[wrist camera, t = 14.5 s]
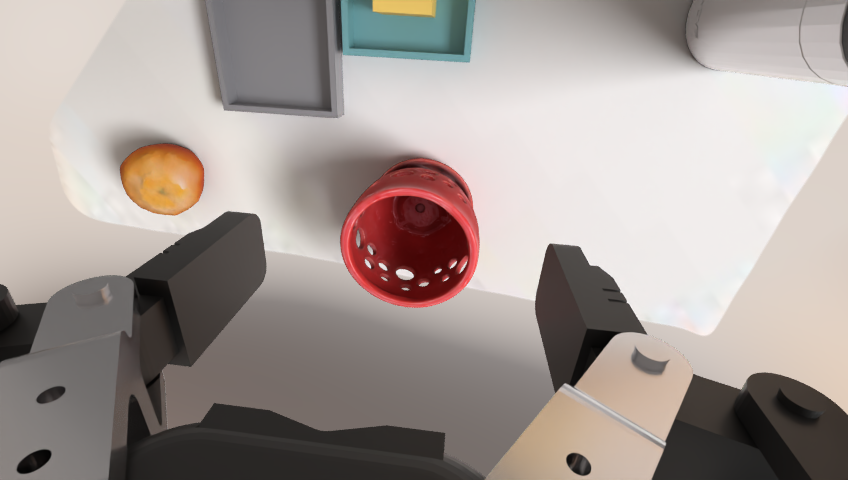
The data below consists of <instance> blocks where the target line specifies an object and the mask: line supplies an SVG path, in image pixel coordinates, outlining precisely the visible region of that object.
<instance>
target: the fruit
mask: <svg viewBox="0 0 848 480" xmlns="http://www.w3.org/2000/svg"><path fill="white" fill-rule="evenodd" d="M120 175H121V180H122V184H123V187H124V189H125V191H126V193H127V195H128V196H129V197H130V199H131V200H132V201H133V202H135V203H136V204H137V205H138V206H140V207H141V208H143V209H146V210H148V211H150V212H152V213H157V214H163V215H178V214H180V213H182V212H183V211H186V210H188V209H189V208H191V207H192V206H193V205H194V204H195V203H197V202H198V201H199V198H200V196H201V194H202V191H203V186H204V168H203V165H202V163H201V162H200V160H199V159H198V158H197V156H196V155H195V154H194V153H193V152H192V151H190V150H189V149H186V148H184V147H181V146H178V145H174V144H166V143H164V144H154V145H148V146H144V147H141V148H139V149H137V150H136V151H134V152H132V153H131V154H130V155H129V156H128V157H127V158H126V159H125V160H124V161H123V163H122V164H121V167H120Z"/></svg>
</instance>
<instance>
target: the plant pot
mask: <svg viewBox="0 0 848 480" xmlns="http://www.w3.org/2000/svg"><path fill="white" fill-rule="evenodd" d="M357 230H359V233H360V239H361V240H360V246H359V248H358V246H357V244H356V236H357ZM368 245H370V246H371V248H372V250H373V255H371V254H370V253H369V251H368V248H367V246H368ZM340 246H341V253H342V257H343V260H344V263H345V265H346V267H347V269H348V271H349V272H350V274H351V275H352V277H353V278H354V279H355V280H356V281H357V283H358V284H359V285H360V286H362V287H363V288H364V289H365V290H367V291H368V292H369V293H370V294H372V295H373V296H375V297H377V298H379V299H381V300H383V301H385V302H388V303H391V304H394V305H398V306H404V307H414V308H415V307H417V308H418V307H428V306H432V305H436V304H439V303H442V302H444V301H447V300H448V299H450V298H452V297H454V296H455V295H457V294H458V293H459V292H460V291H461V290H462V289H463V288H464V287H465V286H466V285H467V284H468V282H469V281H470V280H471V278H472V276H473V274H474V272H475V269H476V266H477V262H478V256H479V229H478V223H477V219H476V216H475V213H474V210H473V201H472V196H471V193H470V190H469V188H468V186H467V184H466V182H465V181H464V180H463V178H462V177H461V176H460V175H459V174H458V173H457V172H456V171H454V170H453V169H452V168H450V167H449V166H447V165H445V164H443V163H441V162H438V161H435V160H431V159H424V158H417V159H410V160H406V161H403V162H400V163H398V164H396V165H395V166H393V167H391V168H390V169H389V170H388V171H386V172H385V173H384V174H383V176H382V177H381V178H380V179H378V180H377V181H376V182H374V183H373V184H372V185H371V186H370V187H369V188H368V189H367V190H366V191H365V192H364V193H363V194H362V195H361V196H360V197H359V199H358V200H357V201H356V203H355V204H354V206H353V207H352V209H351V210H350V212H349V213H348V215H347V217H346V219H345V221H344V224H343V227H342V231H341V236H340ZM365 259H367V260H368V261H369V263H370V265H371V269H370V268H369V267H368V266H367V265H366V264H365ZM467 260H468V261H467ZM456 261H457V263H456V265H455V266H454V267H453V268H451V269H450V267H451V265H452V264H453V263H454V262H456ZM466 261H467V264H466V266H465V268H464V270H463V271H462V272H461V273H460V274H459V272H460V270H461V268H462V267H463V265H464V264H465V262H466ZM379 263H383V264H384V265H385V266H386V267H387V271H385V270H383V269H382V268H381V267H380V266H379ZM398 269H406V270H409V271H410V272H412V273H413V275H414V278H412V279H410V280H403V279H400V278H399V277H398V276H397V275H396V270H398ZM438 269H442V270H441V272H439V273H436V274H435V271H436V270H438ZM381 277H384V278H386V279H387V280H388V281H385V280H383V279H382V278H381ZM448 277H449V279H448V280H446V281H444V280H445V279H446V278H448ZM443 281H444V282H443ZM425 282H428V283H429V284H428V285H427V286H425V287H422V286H419V285H420V284H421V283H425ZM401 288H408V289H410V290H408V291H407V290H403V289H401Z"/></svg>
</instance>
